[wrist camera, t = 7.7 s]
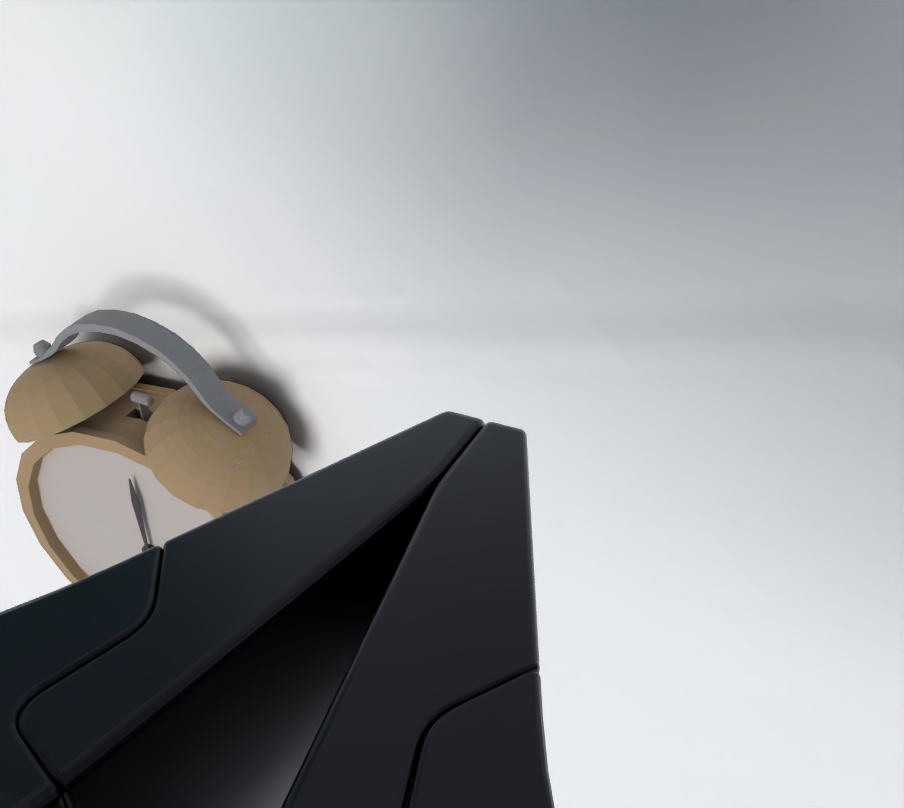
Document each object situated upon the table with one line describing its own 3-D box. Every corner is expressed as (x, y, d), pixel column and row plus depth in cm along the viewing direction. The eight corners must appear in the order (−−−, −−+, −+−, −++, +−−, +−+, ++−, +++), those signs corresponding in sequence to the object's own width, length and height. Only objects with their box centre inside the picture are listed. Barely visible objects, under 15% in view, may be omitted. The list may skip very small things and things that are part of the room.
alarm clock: (61, 608, 35) (-97, 328, 24) (136, 524, 38) (26, 245, 28) (292, 709, 32) (224, 437, 21) (352, 607, 35) (318, 329, 25)
